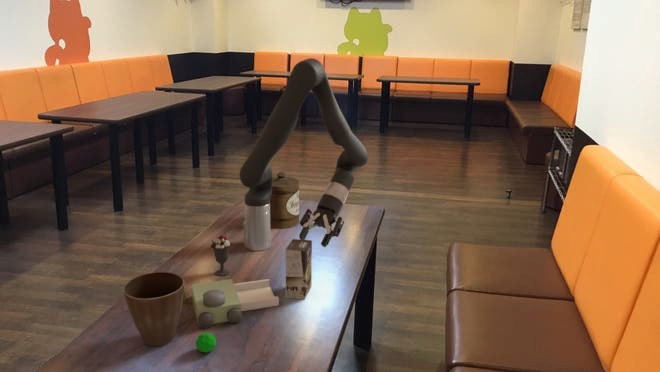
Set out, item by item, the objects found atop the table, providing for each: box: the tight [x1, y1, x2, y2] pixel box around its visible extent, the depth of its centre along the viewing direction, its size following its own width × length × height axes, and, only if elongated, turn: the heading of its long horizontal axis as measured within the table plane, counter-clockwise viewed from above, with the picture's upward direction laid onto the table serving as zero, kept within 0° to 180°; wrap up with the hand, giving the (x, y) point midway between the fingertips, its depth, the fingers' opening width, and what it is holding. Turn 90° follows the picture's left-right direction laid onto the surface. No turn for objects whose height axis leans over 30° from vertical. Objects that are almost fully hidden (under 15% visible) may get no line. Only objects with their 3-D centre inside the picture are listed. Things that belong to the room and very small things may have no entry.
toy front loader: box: [191, 278, 280, 329], centre depth 160 cm, size 19×24×7 cm
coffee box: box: [285, 238, 313, 301], centre depth 168 cm, size 9×6×16 cm
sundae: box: [210, 229, 232, 277], centre depth 180 cm, size 7×7×15 cm
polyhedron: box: [195, 331, 217, 353], centre depth 138 cm, size 5×5×5 cm
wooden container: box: [270, 171, 300, 229], centre depth 226 cm, size 15×15×22 cm
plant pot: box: [122, 271, 185, 347], centre depth 141 cm, size 15×15×16 cm
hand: (312, 242), depth 171 cm, fingers open, 8 cm apart
